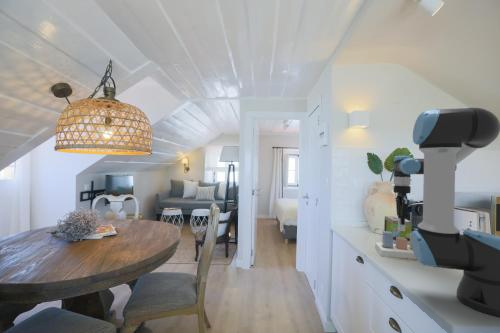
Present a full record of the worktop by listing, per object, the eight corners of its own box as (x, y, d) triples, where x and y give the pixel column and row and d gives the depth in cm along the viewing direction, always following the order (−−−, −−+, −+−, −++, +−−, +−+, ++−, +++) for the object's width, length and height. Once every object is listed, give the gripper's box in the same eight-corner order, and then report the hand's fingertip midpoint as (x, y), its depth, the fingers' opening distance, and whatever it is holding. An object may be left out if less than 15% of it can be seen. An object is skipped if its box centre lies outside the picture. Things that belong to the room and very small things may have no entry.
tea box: (411, 247, 139) (412, 221, 139) (392, 246, 141) (392, 220, 141) (401, 239, 153) (401, 216, 153) (383, 238, 155) (383, 215, 155)
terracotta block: (407, 253, 125) (407, 239, 125) (398, 252, 126) (398, 238, 126) (404, 250, 129) (404, 237, 129) (395, 250, 130) (396, 236, 130)
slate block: (393, 247, 127) (393, 233, 127) (384, 246, 128) (384, 232, 128) (390, 244, 131) (390, 231, 131) (382, 244, 132) (382, 231, 132)
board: (431, 261, 118) (431, 254, 118) (381, 256, 124) (381, 250, 124) (419, 251, 132) (419, 245, 132) (375, 247, 137) (375, 242, 137)
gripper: (415, 186, 121) (414, 234, 120) (405, 184, 133) (405, 228, 133) (398, 185, 123) (397, 233, 122) (390, 184, 135) (390, 227, 135)
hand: (401, 230), depth 127 cm, fingers closed
